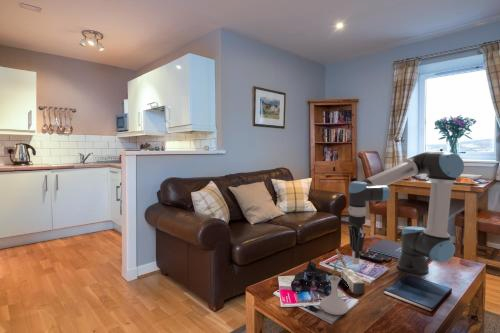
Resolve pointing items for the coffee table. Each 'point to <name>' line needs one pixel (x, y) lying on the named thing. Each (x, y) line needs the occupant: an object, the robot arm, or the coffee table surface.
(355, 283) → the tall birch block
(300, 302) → the coffee table surface
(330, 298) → the flower in vase
